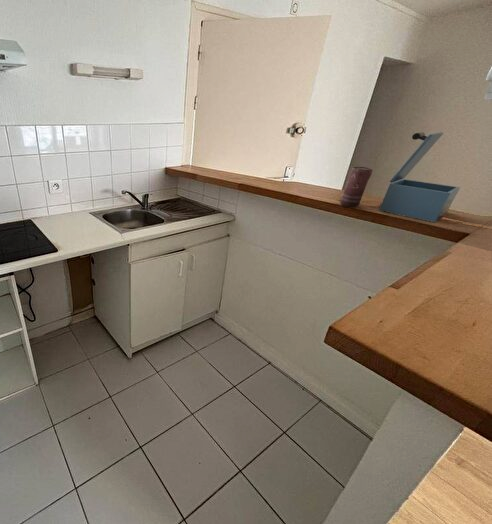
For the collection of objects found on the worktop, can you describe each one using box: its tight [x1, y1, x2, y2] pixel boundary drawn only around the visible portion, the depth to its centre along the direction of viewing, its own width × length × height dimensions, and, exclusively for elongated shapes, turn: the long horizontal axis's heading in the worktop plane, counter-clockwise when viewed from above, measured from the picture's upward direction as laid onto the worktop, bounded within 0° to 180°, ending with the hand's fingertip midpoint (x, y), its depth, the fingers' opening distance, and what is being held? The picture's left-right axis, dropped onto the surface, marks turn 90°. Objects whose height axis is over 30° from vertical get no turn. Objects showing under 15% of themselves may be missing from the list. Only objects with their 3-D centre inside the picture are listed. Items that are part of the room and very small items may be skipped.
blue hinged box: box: [378, 178, 461, 223], centre depth 99 cm, size 16×13×10 cm
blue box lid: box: [389, 131, 444, 184], centre depth 97 cm, size 16×13×5 cm
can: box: [339, 166, 373, 208], centre depth 106 cm, size 6×6×14 cm
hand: (491, 99), depth 85 cm, fingers open, 8 cm apart
